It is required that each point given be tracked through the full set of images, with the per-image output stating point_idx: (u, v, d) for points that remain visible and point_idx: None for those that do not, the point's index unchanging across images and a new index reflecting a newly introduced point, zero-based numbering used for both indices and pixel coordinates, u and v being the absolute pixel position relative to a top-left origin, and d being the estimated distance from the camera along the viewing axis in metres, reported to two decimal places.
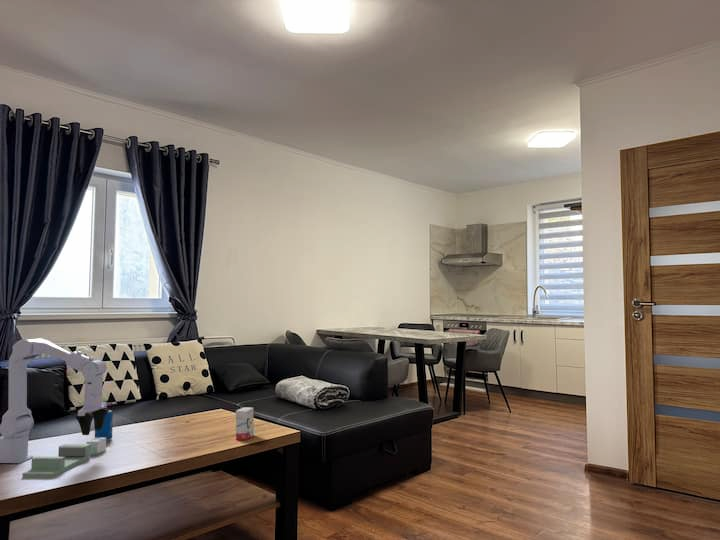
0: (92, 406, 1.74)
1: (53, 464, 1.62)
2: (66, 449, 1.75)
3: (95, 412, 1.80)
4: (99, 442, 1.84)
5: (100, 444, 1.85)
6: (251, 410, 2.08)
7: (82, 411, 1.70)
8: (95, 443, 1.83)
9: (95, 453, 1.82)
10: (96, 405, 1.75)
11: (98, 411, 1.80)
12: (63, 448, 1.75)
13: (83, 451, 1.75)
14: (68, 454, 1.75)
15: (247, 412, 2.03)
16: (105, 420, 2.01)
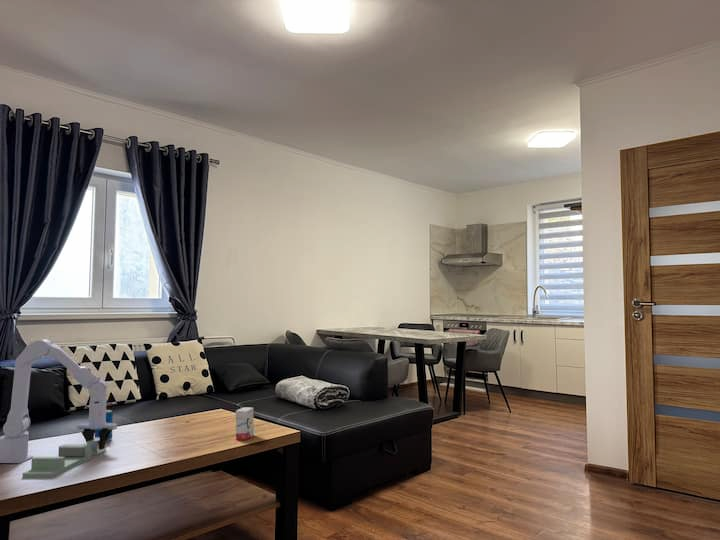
0: (88, 423, 1.85)
1: (53, 464, 1.62)
2: (66, 449, 1.75)
3: None
4: (99, 441, 1.84)
5: None
6: (251, 410, 2.08)
7: None
8: (95, 443, 1.83)
9: (95, 453, 1.82)
10: (89, 424, 1.84)
11: None
12: (63, 448, 1.75)
13: (83, 451, 1.75)
14: (68, 454, 1.75)
15: (247, 412, 2.03)
16: None
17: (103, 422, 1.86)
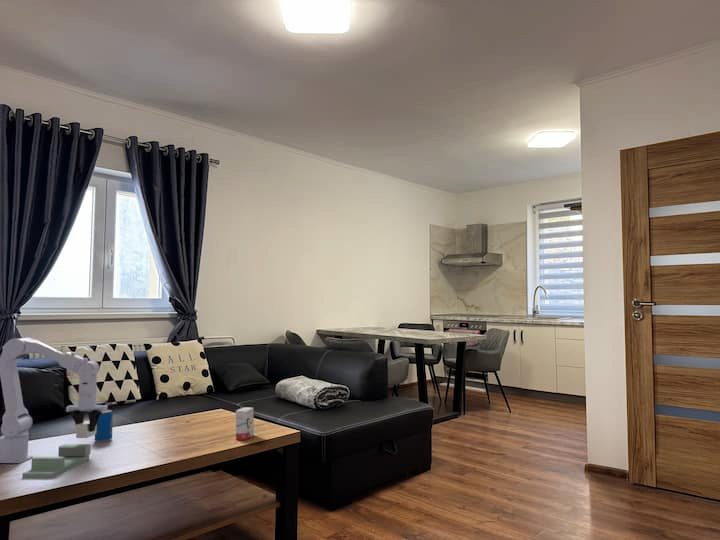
0: (78, 405, 1.80)
1: (53, 464, 1.62)
2: (66, 449, 1.75)
3: None
4: (89, 424, 1.80)
5: None
6: (251, 410, 2.08)
7: None
8: (85, 425, 1.78)
9: (85, 436, 1.78)
10: (79, 405, 1.79)
11: None
12: (63, 448, 1.75)
13: (83, 451, 1.75)
14: (68, 454, 1.75)
15: (247, 412, 2.03)
16: (105, 420, 2.01)
17: (93, 404, 1.81)
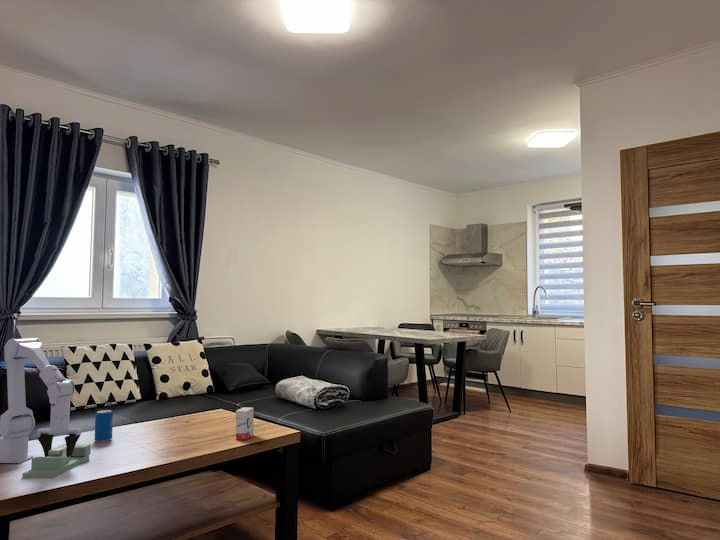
0: (50, 428, 1.68)
1: (53, 464, 1.62)
2: None
3: None
4: (62, 450, 1.67)
5: (64, 453, 1.68)
6: (251, 410, 2.08)
7: None
8: (57, 452, 1.66)
9: None
10: (50, 428, 1.67)
11: None
12: None
13: (83, 451, 1.75)
14: None
15: (247, 412, 2.03)
16: (105, 420, 2.01)
17: (66, 427, 1.68)
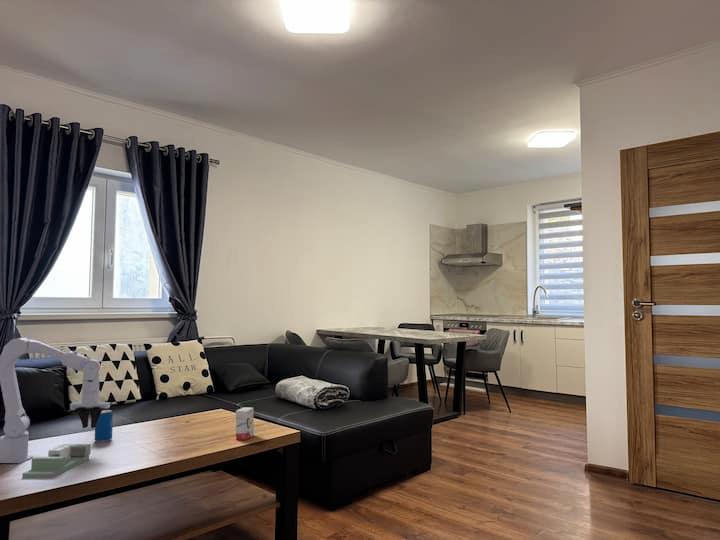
0: (81, 402, 1.86)
1: (53, 464, 1.62)
2: None
3: None
4: (62, 450, 1.67)
5: (64, 453, 1.68)
6: (251, 410, 2.08)
7: None
8: (57, 452, 1.66)
9: None
10: (82, 402, 1.85)
11: None
12: None
13: (83, 451, 1.75)
14: None
15: (247, 412, 2.03)
16: (105, 420, 2.01)
17: (96, 401, 1.86)
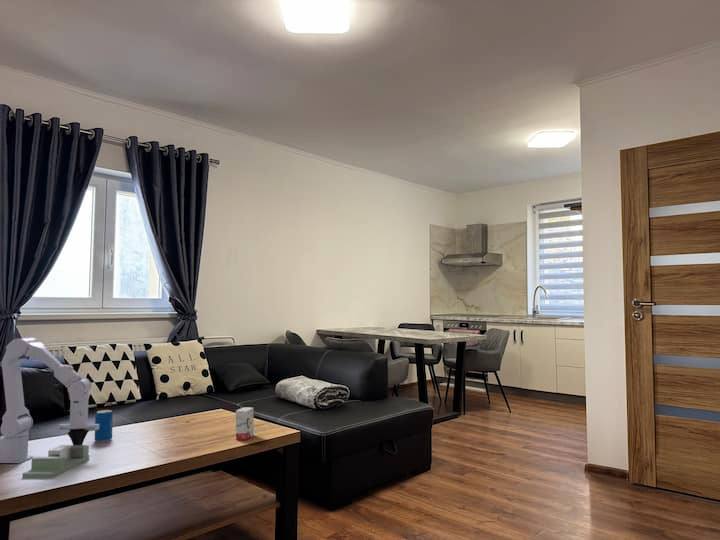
0: (69, 424, 1.79)
1: (53, 464, 1.62)
2: None
3: None
4: (62, 450, 1.67)
5: (64, 453, 1.68)
6: (251, 410, 2.08)
7: None
8: (57, 452, 1.66)
9: None
10: (70, 424, 1.78)
11: None
12: None
13: (81, 452, 1.74)
14: None
15: (247, 412, 2.03)
16: (105, 420, 2.01)
17: (85, 422, 1.79)
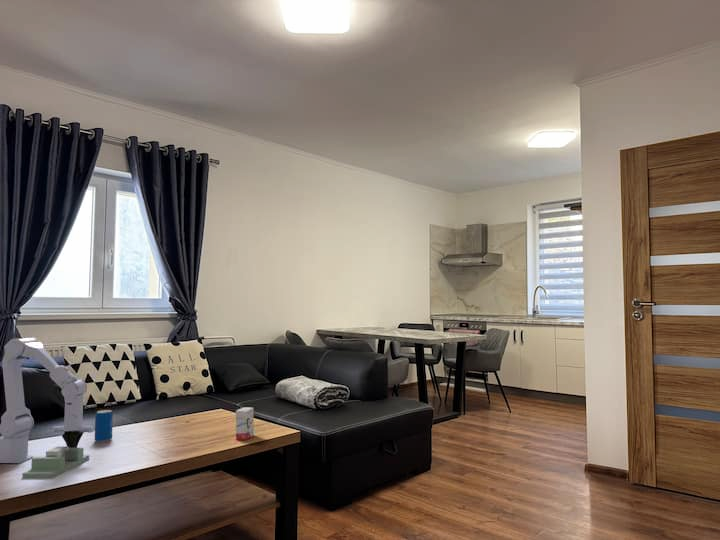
0: (64, 426, 1.75)
1: (53, 464, 1.62)
2: None
3: None
4: (60, 451, 1.66)
5: (61, 454, 1.67)
6: (251, 410, 2.08)
7: None
8: (55, 453, 1.65)
9: None
10: (64, 426, 1.74)
11: None
12: None
13: (75, 455, 1.71)
14: None
15: (247, 412, 2.03)
16: (105, 420, 2.01)
17: (79, 424, 1.76)
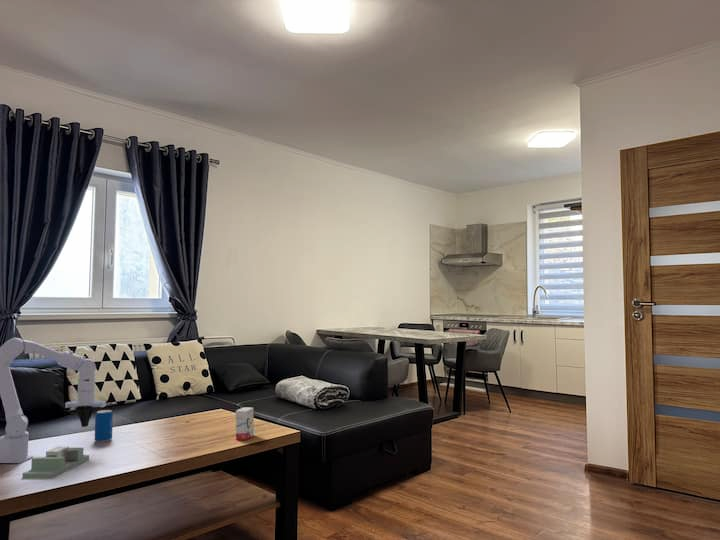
0: (77, 401, 1.88)
1: (53, 464, 1.62)
2: None
3: None
4: (60, 451, 1.66)
5: (61, 454, 1.67)
6: (251, 410, 2.08)
7: None
8: (55, 453, 1.65)
9: None
10: (78, 401, 1.87)
11: None
12: None
13: (75, 455, 1.71)
14: None
15: (247, 412, 2.03)
16: (105, 420, 2.01)
17: (92, 400, 1.89)
